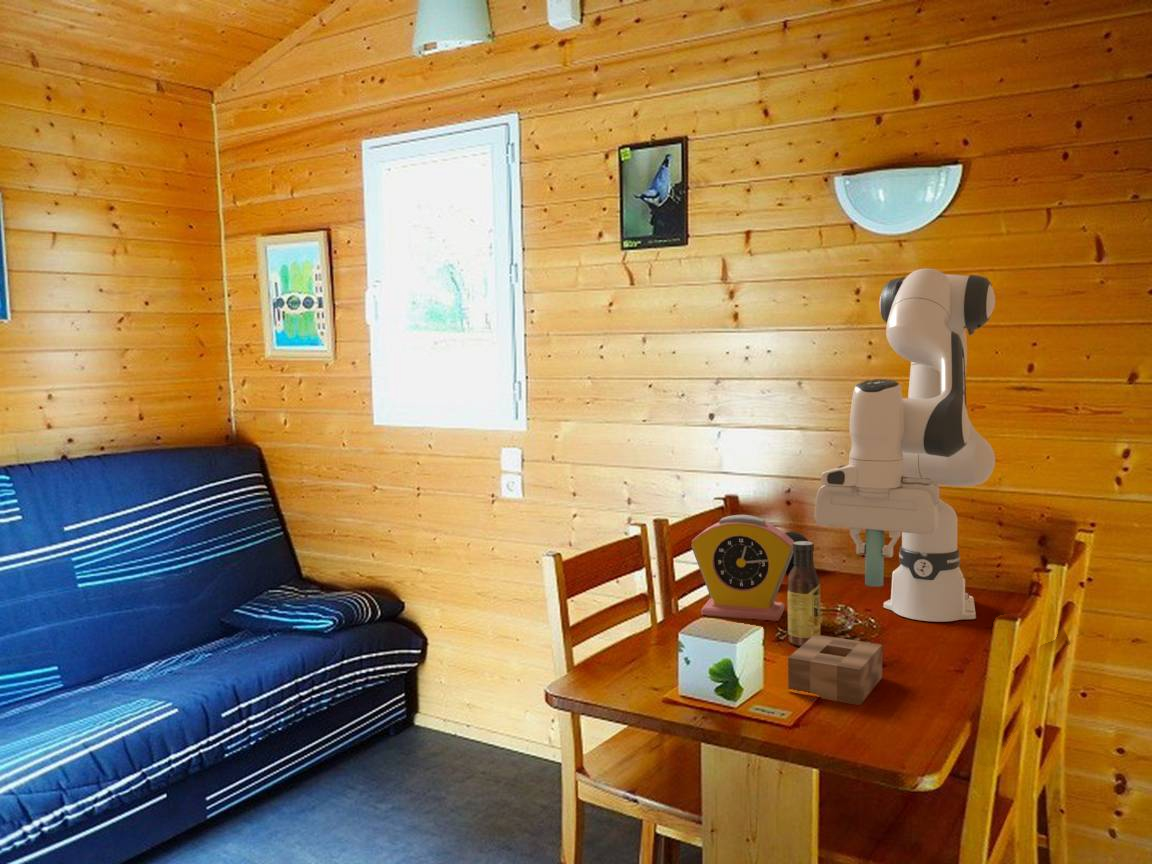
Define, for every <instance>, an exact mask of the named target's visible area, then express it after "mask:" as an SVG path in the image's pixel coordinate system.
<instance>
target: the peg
mask: <svg viewBox="0 0 1152 864" xmlns="http://www.w3.org/2000/svg"><path fill="white" fill-rule="evenodd" d="M865 543H866V553H865V555H864V556H865V559H864V560H865V563H864V564H865V565H864V566H865V567H864V568H865V569H864V585H865V586H867V587H874V588H876V587H878V588H879V587H883V586H884V567H885V566H884V565H885V562H884V561H885V560H884V559H885V557H882V553H883V551H882V547H883V546H884V545H885V531H882V530H870V529H865Z"/></svg>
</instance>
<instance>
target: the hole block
mask: <svg viewBox="0 0 1152 864" xmlns="http://www.w3.org/2000/svg"><path fill="white" fill-rule="evenodd" d="M787 659H788V661H787V663H788V664H787V667H788V668H787V670H788V671H787V672H788V673H787V677H788V680H787V682H788V687H787V689H793V690H797V691H804V692H808V693H813V694H817V695H819V696H820V697H821V698H820V699H823V700H829V701H834V702H835V701H836V702H839V703H845V704H850V705H856V706H861V704H863V703H864V701H865V700H866V698H868V696H869V695H870V693H871V692H872V691H873V690H874V689H875V687H876V686H877V685H878V684H879V682H880V681H881V680H882V678H883V644H881V643H874V642H868V641H861V640H854V639H847V638H841V637H834V636H828V635H821V634H820V635H815V634H814V635H813V636H812V637H811V638H810V639H809V640H808V641H807V642H805V643H804V644H803V645H802V646H799V648H798V649H796V650H795V651H793V653H792V654H790V655H789V656H788V658H787Z"/></svg>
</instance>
